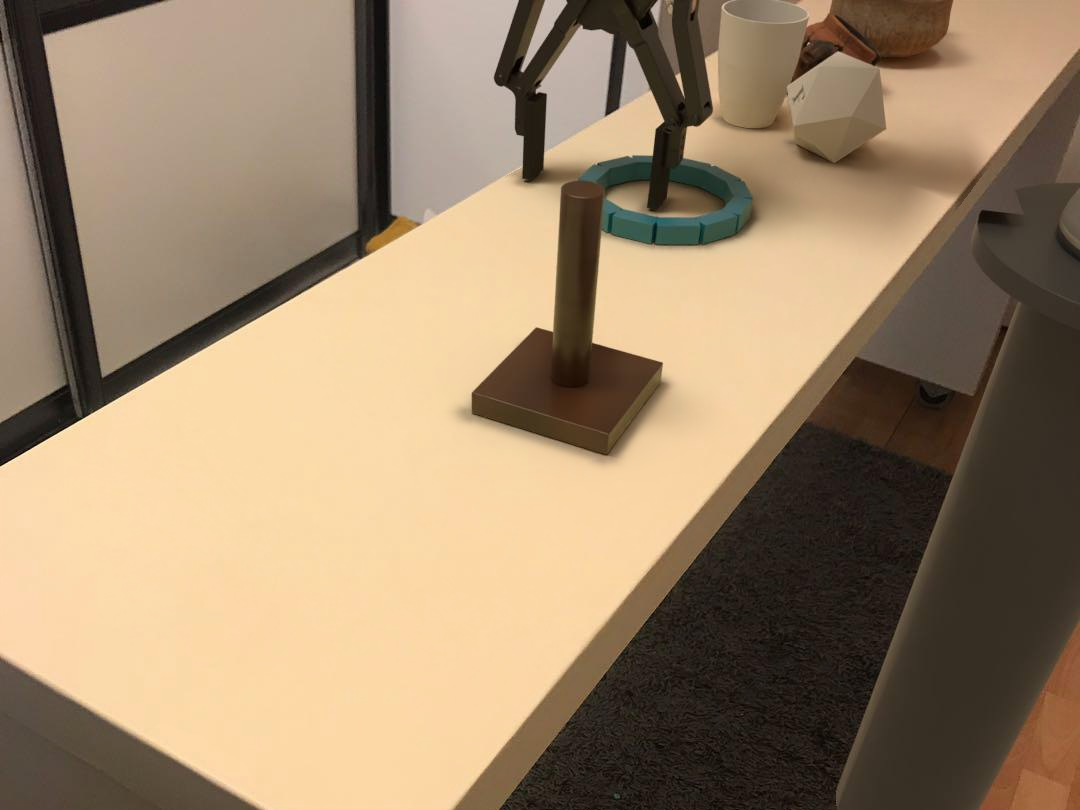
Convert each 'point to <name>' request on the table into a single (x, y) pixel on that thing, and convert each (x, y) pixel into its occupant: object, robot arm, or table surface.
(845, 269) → the table surface
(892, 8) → the bowl
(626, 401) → the post
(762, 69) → the cup
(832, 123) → the die
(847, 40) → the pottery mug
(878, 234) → the table surface
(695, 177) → the ring
